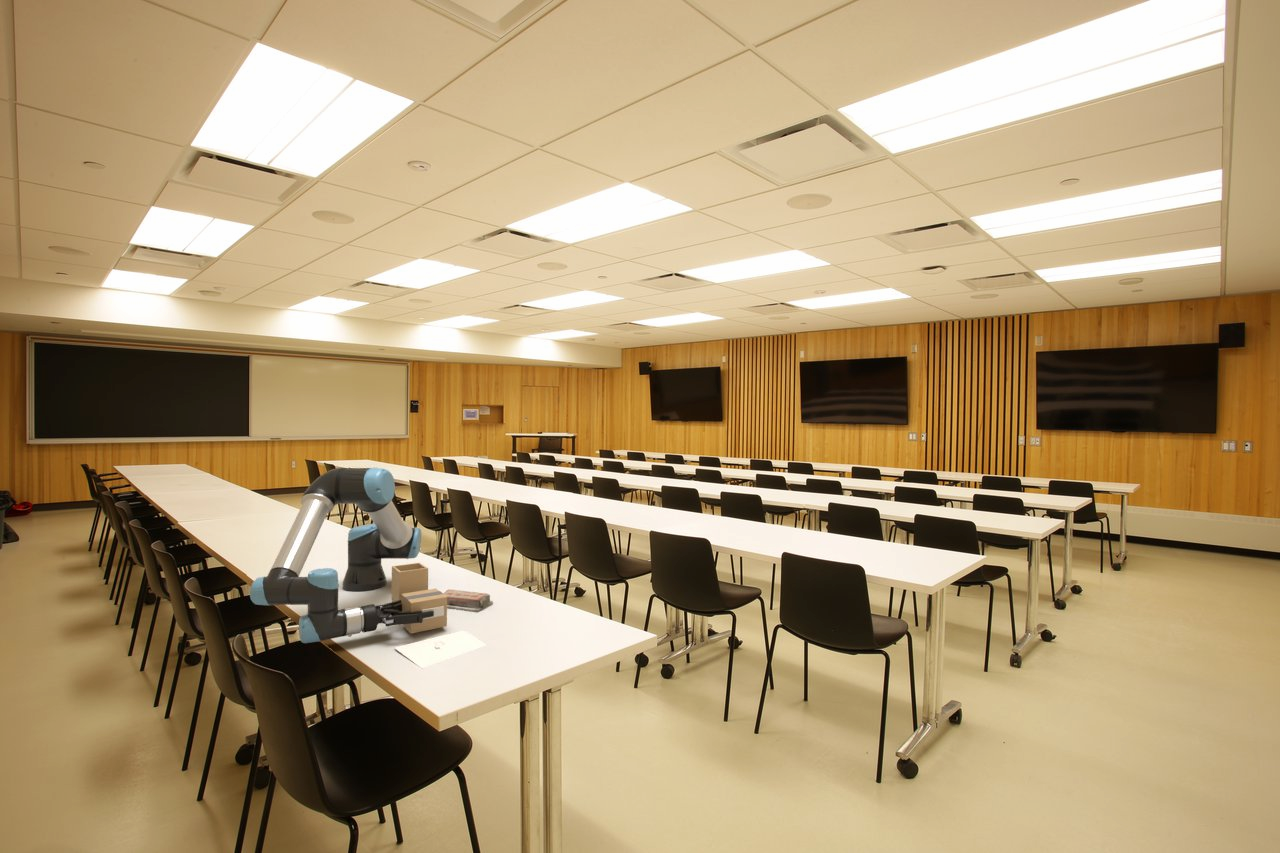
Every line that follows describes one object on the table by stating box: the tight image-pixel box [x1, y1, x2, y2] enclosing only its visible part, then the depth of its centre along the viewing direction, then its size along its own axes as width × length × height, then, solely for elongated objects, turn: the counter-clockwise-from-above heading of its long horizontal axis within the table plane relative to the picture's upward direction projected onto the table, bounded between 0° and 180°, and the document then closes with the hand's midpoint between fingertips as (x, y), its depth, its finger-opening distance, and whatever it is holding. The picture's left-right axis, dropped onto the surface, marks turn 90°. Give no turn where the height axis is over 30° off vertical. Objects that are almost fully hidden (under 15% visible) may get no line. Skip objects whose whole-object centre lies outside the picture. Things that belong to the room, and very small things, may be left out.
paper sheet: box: [394, 630, 487, 669], centre depth 164 cm, size 24×29×1 cm
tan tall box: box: [391, 562, 429, 602], centre depth 195 cm, size 9×9×16 cm
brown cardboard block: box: [401, 588, 448, 634], centre depth 183 cm, size 11×11×9 cm
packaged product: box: [442, 589, 494, 613], centre depth 207 cm, size 18×5×10 cm
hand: (437, 605), depth 186 cm, fingers closed on brown cardboard block, 11 cm apart
